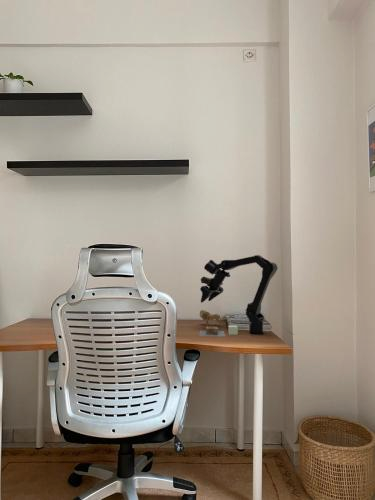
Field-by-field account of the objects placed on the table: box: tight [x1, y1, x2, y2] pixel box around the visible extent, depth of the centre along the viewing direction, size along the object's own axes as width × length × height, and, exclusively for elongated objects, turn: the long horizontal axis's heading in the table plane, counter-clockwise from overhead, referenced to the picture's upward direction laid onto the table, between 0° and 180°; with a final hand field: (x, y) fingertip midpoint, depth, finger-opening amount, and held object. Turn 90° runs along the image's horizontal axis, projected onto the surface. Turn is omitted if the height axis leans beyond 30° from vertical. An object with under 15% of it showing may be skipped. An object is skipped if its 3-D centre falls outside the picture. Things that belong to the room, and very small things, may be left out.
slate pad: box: [199, 330, 226, 337], centre depth 201 cm, size 13×14×1 cm
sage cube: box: [227, 325, 239, 336], centre depth 201 cm, size 4×4×4 cm
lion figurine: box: [199, 309, 225, 327], centre depth 228 cm, size 15×5×9 cm, turn 83°
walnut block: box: [205, 326, 219, 335], centre depth 201 cm, size 6×6×3 cm
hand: (205, 301), depth 222 cm, fingers open, 9 cm apart
